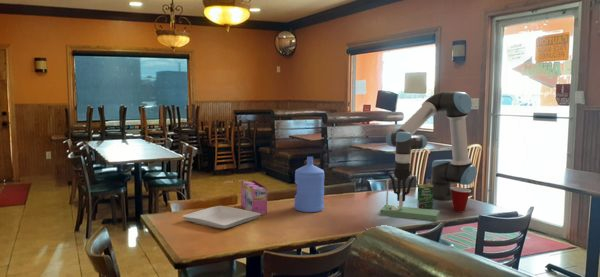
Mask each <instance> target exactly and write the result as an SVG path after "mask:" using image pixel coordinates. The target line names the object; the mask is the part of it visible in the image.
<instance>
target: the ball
mask: <svg viewBox="0 0 600 277" xmlns="http://www.w3.org/2000/svg"><path fill="white" fill-rule="evenodd" d="M392 206H393V207H392V208H391V210H399V208H398V207H397V206H398V205H392Z"/></svg>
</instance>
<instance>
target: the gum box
mask: <svg viewBox="0 0 600 277" xmlns="http://www.w3.org/2000/svg"><path fill="white" fill-rule="evenodd" d="M240 187H241V188H240V189H241V190H240V191H241V192H240V194H241V197H240V206H241V207H243V209H244V210H247V211H252V212H256V213H261V215H268V214H267V213H268V188H267V187H266V186H264V185H263V184H261V183H259V182H257V180H251V181H244V180H241V186H240ZM261 215H260V216H261Z"/></svg>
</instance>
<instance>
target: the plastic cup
mask: <svg viewBox="0 0 600 277" xmlns="http://www.w3.org/2000/svg"><path fill="white" fill-rule="evenodd" d="M450 189H451V194H452V199H451V200H452V201H451V202H452V207H453V210H454V212H458V213H459V212H462V213H463V212H465V211H466V208H467V204H468V200H469V196H470V193H471V192H472V190H471V189H469V188H464V187H458V186H451V188H450Z"/></svg>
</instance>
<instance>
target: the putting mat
mask: <svg viewBox="0 0 600 277" xmlns="http://www.w3.org/2000/svg"><path fill="white" fill-rule="evenodd" d="M393 206H394V205H391V204H388V206H386V204H385V205H384V206H382V208H380V211H379V214H380V215H382V216H390V217H400V218H406V219H407V218H408V219H417V220H426V221H434V222H438V218H439V217H440V210H439V209H436V210H435V209H430V208H418V207H409V206H403V207H402V208H399V205H396V206H397V207H398V208H399V210H391V208H392V207H393Z"/></svg>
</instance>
